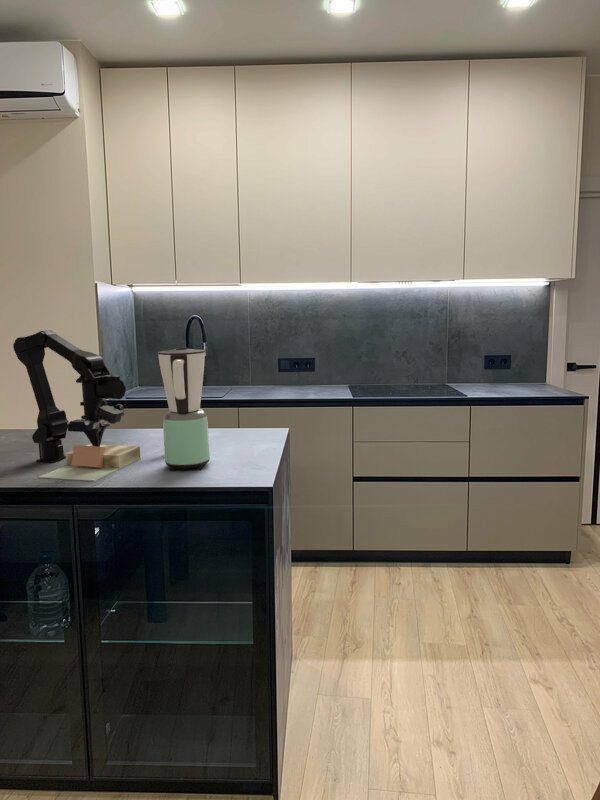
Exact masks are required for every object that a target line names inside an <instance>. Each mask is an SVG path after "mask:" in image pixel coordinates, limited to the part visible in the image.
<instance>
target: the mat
mask: <svg viewBox="0 0 600 800" xmlns="http://www.w3.org/2000/svg"><path fill="white" fill-rule="evenodd" d="M118 470H120V469H118V468H97V467H81V466H67V465H64V466H61V467H59V468H57V469H56V468H55V470H52V471H50V472H47V473H44V474H41V475H40V476H38V478H39V479H53V480H54V479H55V480H65V481H66V480H68V481H70V480H71V481H85V482H96V481H98V480H100V479H102V478H104V477H106V476H109V475H111V474H112V473H115V472H116V471H118Z"/></svg>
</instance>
